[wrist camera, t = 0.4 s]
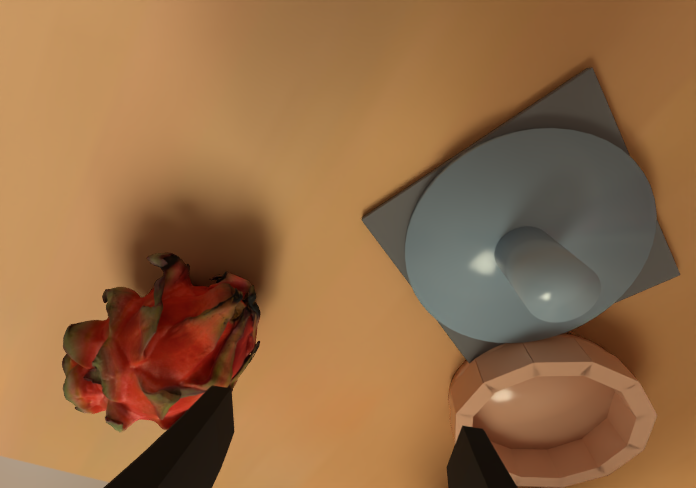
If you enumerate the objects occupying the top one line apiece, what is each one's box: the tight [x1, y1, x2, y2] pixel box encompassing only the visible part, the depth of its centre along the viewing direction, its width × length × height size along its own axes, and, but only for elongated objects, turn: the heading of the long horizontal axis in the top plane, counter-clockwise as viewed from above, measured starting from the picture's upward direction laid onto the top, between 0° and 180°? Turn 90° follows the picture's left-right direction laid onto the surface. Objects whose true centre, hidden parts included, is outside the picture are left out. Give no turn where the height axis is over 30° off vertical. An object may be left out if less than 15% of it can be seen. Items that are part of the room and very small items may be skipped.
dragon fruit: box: [62, 253, 260, 432], centre depth 18 cm, size 8×8×12 cm
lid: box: [405, 128, 657, 343], centre depth 15 cm, size 12×12×5 cm
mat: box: [362, 68, 680, 363], centre depth 17 cm, size 12×12×1 cm
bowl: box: [448, 333, 657, 488], centre depth 21 cm, size 11×11×2 cm
